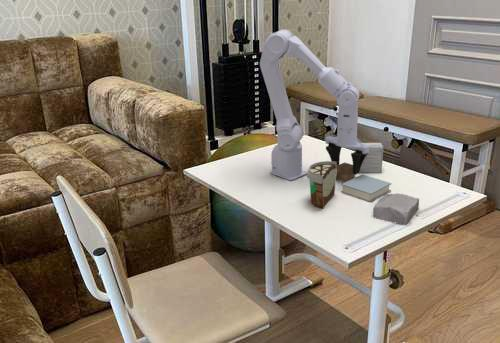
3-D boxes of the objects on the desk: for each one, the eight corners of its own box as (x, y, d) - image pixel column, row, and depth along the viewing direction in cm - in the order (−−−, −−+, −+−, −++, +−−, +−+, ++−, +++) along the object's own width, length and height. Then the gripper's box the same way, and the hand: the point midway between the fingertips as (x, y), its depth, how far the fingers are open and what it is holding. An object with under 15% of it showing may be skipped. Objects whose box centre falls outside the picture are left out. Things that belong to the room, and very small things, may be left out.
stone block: (370, 224, 129) (409, 226, 123) (368, 207, 128) (407, 208, 122) (385, 208, 138) (422, 209, 132) (383, 192, 137) (420, 192, 131)
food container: (315, 190, 145) (316, 158, 142) (336, 193, 142) (337, 161, 139) (299, 207, 135) (299, 173, 131) (321, 211, 132) (321, 176, 129)
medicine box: (379, 168, 160) (381, 142, 156) (382, 173, 155) (383, 147, 152) (354, 168, 160) (356, 142, 157) (356, 173, 156) (357, 147, 153)
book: (341, 192, 143) (341, 184, 142) (361, 181, 150) (362, 174, 149) (370, 202, 136) (371, 193, 135) (390, 191, 143) (391, 183, 142)
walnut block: (336, 179, 152) (336, 165, 151) (344, 175, 155) (344, 162, 153) (346, 183, 149) (347, 169, 148) (354, 179, 152) (355, 165, 150)
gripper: (376, 129, 143) (373, 172, 148) (336, 120, 153) (335, 161, 158) (361, 134, 139) (359, 179, 144) (321, 125, 149) (320, 167, 154)
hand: (345, 170), depth 151 cm, fingers open, 7 cm apart
